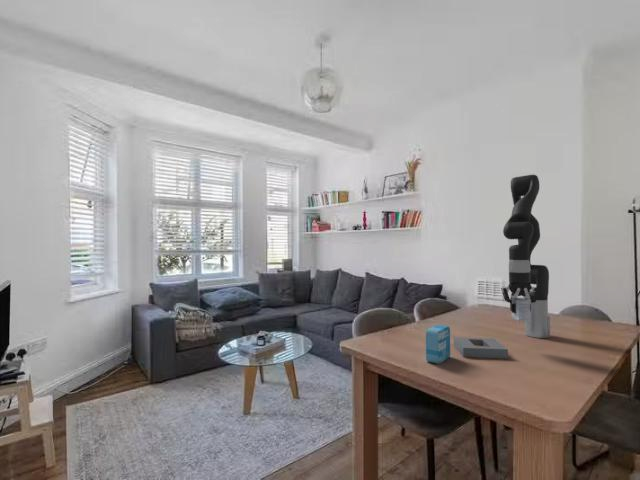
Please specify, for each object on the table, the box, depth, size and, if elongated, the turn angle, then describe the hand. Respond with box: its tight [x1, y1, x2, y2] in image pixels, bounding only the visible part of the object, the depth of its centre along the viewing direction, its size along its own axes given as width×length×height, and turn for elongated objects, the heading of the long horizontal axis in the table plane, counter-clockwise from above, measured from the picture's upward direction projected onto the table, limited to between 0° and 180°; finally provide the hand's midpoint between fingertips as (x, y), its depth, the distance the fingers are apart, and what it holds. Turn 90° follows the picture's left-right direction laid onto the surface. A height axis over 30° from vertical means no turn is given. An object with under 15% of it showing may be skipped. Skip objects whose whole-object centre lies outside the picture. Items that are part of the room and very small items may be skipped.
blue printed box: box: [425, 324, 451, 365], centre depth 126 cm, size 12×4×12 cm, turn 138°
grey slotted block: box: [453, 336, 509, 360], centre depth 135 cm, size 16×15×4 cm
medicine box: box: [510, 296, 531, 323], centre depth 136 cm, size 8×4×9 cm, turn 169°
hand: (520, 312), depth 136 cm, fingers closed on medicine box, 4 cm apart
